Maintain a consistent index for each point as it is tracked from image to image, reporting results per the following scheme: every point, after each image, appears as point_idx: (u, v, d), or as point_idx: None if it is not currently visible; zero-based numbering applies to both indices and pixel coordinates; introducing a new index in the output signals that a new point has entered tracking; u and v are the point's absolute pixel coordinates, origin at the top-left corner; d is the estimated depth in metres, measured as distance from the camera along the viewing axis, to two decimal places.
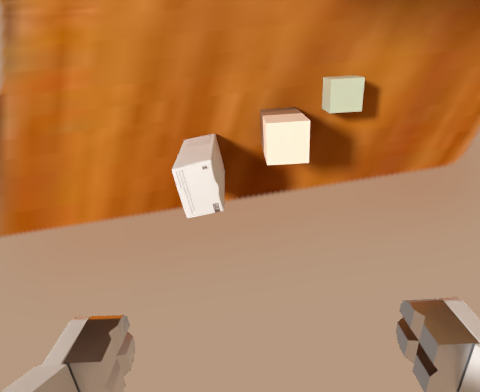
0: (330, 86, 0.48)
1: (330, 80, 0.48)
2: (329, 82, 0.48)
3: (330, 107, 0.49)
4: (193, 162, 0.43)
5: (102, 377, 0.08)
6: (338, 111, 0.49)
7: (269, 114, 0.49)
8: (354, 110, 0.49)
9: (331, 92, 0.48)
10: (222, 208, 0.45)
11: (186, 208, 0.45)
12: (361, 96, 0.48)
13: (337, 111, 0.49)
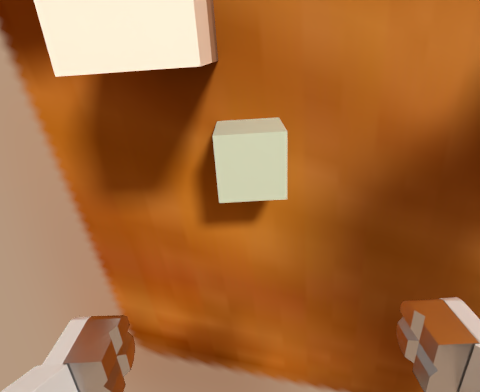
0: (270, 131, 0.21)
1: (283, 129, 0.21)
2: (277, 128, 0.22)
3: (225, 136, 0.21)
4: None
5: (102, 376, 0.08)
6: (217, 155, 0.22)
7: None
8: (220, 188, 0.23)
9: (258, 134, 0.21)
10: None
11: None
12: (249, 198, 0.23)
13: (217, 153, 0.22)
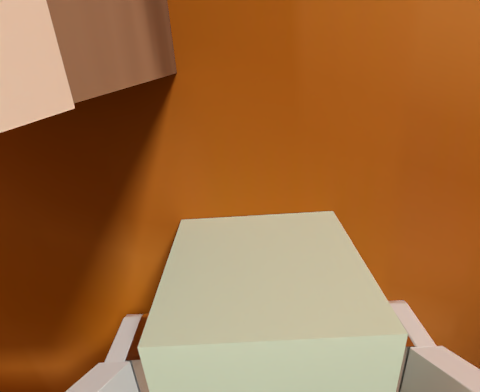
0: (344, 321, 0.06)
1: (385, 314, 0.06)
2: (359, 297, 0.07)
3: (185, 345, 0.06)
4: None
5: None
6: None
7: None
8: None
9: (303, 342, 0.06)
10: None
11: None
12: None
13: (159, 390, 0.06)
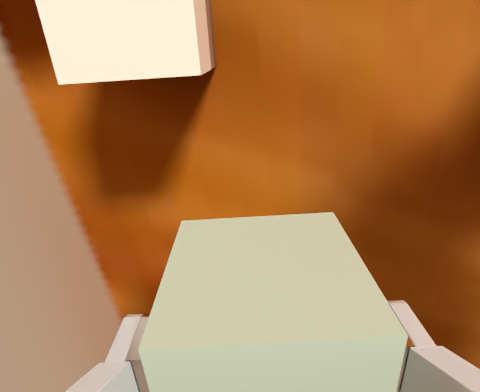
0: (344, 323, 0.06)
1: (385, 316, 0.06)
2: (359, 298, 0.07)
3: (185, 347, 0.06)
4: None
5: None
6: None
7: None
8: None
9: (304, 344, 0.06)
10: None
11: None
12: None
13: (159, 391, 0.06)
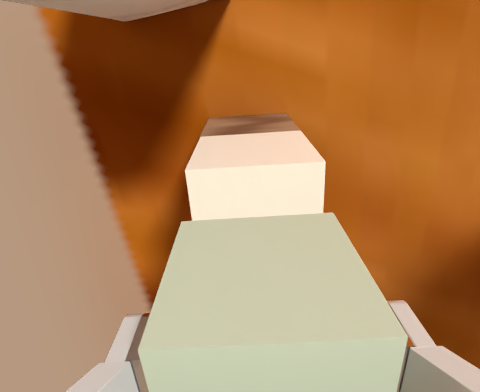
0: (344, 324, 0.06)
1: (385, 316, 0.06)
2: (360, 299, 0.07)
3: (185, 348, 0.06)
4: None
5: None
6: None
7: None
8: None
9: (304, 345, 0.06)
10: None
11: None
12: None
13: None
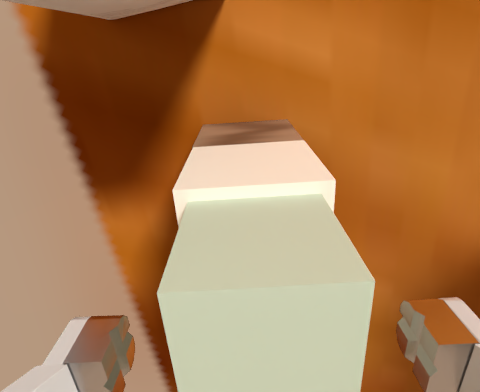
0: (324, 274, 0.08)
1: (358, 268, 0.08)
2: (339, 256, 0.08)
3: (195, 292, 0.07)
4: None
5: (102, 377, 0.08)
6: (174, 336, 0.08)
7: None
8: None
9: (291, 289, 0.07)
10: None
11: None
12: None
13: (173, 331, 0.08)
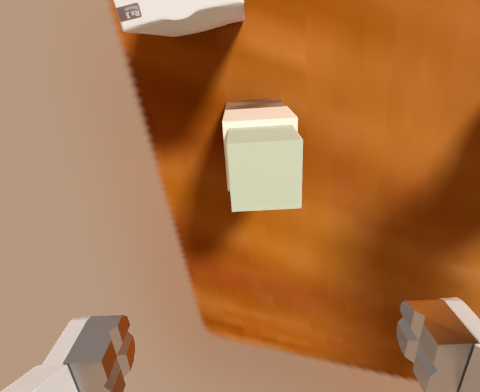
0: (286, 139, 0.21)
1: (298, 137, 0.21)
2: (292, 136, 0.22)
3: (239, 144, 0.21)
4: None
5: (102, 376, 0.08)
6: (231, 163, 0.21)
7: None
8: (233, 197, 0.22)
9: (273, 143, 0.21)
10: (128, 27, 0.20)
11: None
12: (262, 206, 0.23)
13: (231, 161, 0.21)
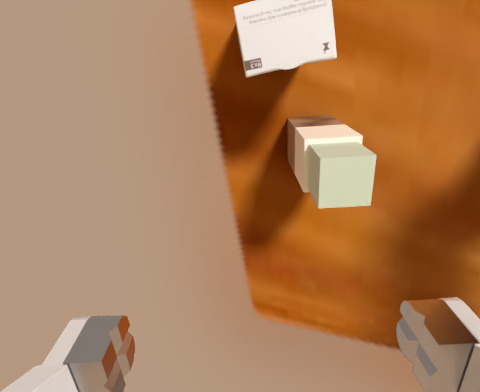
0: (363, 154, 0.29)
1: (372, 153, 0.29)
2: (366, 152, 0.29)
3: (329, 158, 0.28)
4: (333, 26, 0.27)
5: (102, 376, 0.08)
6: (322, 172, 0.29)
7: None
8: (320, 197, 0.30)
9: (355, 157, 0.28)
10: (251, 74, 0.28)
11: (254, 7, 0.26)
12: (341, 204, 0.30)
13: (322, 171, 0.29)
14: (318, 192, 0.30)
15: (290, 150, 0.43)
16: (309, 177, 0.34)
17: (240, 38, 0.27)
